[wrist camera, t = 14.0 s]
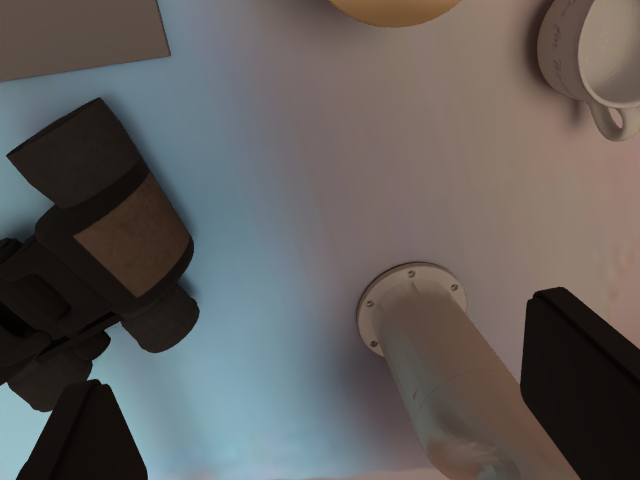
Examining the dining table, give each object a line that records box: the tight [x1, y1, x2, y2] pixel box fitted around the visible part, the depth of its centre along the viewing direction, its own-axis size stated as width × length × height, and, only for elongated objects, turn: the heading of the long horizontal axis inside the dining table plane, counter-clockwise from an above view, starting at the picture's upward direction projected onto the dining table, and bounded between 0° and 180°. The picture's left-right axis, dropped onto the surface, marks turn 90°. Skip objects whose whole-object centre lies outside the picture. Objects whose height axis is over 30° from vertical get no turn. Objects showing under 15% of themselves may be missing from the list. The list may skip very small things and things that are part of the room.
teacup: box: [537, 0, 640, 141], centre depth 39 cm, size 14×11×8 cm
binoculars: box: [0, 97, 200, 412], centre depth 40 cm, size 29×20×10 cm
